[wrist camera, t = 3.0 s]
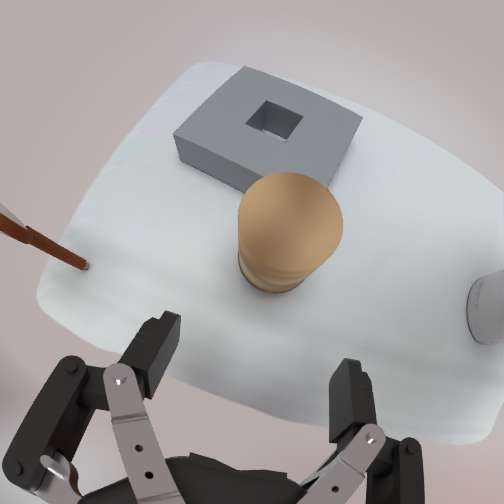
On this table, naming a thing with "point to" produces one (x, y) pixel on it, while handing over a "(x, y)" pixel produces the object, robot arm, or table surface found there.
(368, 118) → the table surface
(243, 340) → the table surface
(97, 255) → the table surface
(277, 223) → the peg
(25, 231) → the magnifying glass
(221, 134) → the board
